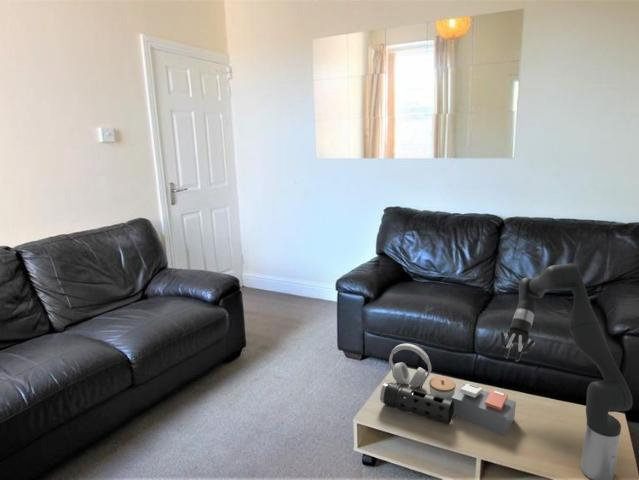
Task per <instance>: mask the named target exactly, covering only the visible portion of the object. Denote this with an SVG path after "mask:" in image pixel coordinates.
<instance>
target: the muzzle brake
mask: <svg viewBox="0 0 639 480" xmlns="http://www.w3.org/2000/svg"><path fill="white" fill-rule="evenodd" d="M379 395H380V396H379V397H380V398H379V400H380V402H381V403H383V405H385V406H386V407H389V408H392V409H397V410H399V411H400V412H401V411H402V412H407V413H410V414H413V415H416V416H419V417H422V418H426V419H429V420H431V421H435V422H438V423H441V424H444V425H450V424H451V422H452V420H453V417H454V416H453V411H454V402H453V401H452V399H451V400H448V399H444V398H441V397H437V396H434V395H431V393H426V392H423V391H419V390H416V389H412V388H409V387H406V386H401V384H399V383H396V382H395V383H394V382H385V383H384V384H382V387H381V389H380V394H379Z"/></svg>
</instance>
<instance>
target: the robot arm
mask: <svg viewBox="0 0 639 480" xmlns="http://www.w3.org/2000/svg"><path fill="white" fill-rule="evenodd" d="M551 290H552V291H563V290H571V291H572V295H573V305H572V309H571V312H570V315H569V318H568V322H567V323H568V330H569V332H570V335H571V338H572V341H573V342H574V344H575V346H576V347H577V348H578V350H579V351H580V352H581V353H583V355H584V356H586V358H588V359H589V360H590V361H591V362H592V363H593V364H594V365H595V366H596V368H597V369H598V370H599V372H600V373H601V376H602V378H603V380H601V381H600V380H599V381H597V380H596V381H591V382H590V383H589V384H588V385H587V386H588V387H587V390H586V402H585V403H586V404H585V416H586V423H585V425H586V426H585V431H584V438H583V439H584V440H583V446H582V452H581V461H580V470H581V472H582V473H583V475H585V476H586V477H587V478H589V479H590V480H614V476H615V471H616V465H617V458H618V453H619V452H618V451H619V444H620V438H621V430H622V425H621V422H620V421H619V420H618V419H617V418H616V417H614V416H613V415H611V414H609V413H614V412H616V413H617V412H627V411H629V410H631V409H632V407H633V403H634V402H633V401H634V400H633V396H632V393H631V390H630V388H629V385H628V384H627V382H626V380H625V378H624V376H623V374H622V373H621V371H620V369H619V367H618V365H617V364H616V363H617V362H616V361H615V359H614V356H613V355H612V352H611V350H610V348H609V345H608V342H607V341H606V337H605V334H604V331H603V329H602V328H601V325H600V322H599V320H598V318H597V316H596V314H595V311H594V309H593V307H592V304H591V301H590V299H589V296H588V292H587V289H586V286H585V283H584V280H583V276H582V274H581V272H580V269H579V267H578V265H576V264H574V263H562V264H556V265H554V264H553V265H550V266H548V267H546V268H545V269H543V271H542V272H541V274H540V275H537V276H536V277H534V278H531V277H523V278H521V280H520V281H519V285H518V303H517V307H516V309H515V312H514V314H513V318H512V320H511V325H510V327H509V330H508V331H507V332H503V331H502V332H500V337H501V339H500V340H501V345H502V348H504V353H503V356H504V358H505V359H507V360H508V359H509V357H510V352H511V348H512V347H513V346H514V345H517V346H518V347H517V348H518V350H517V352H516V355H515V358H514V359H515V360H514V361H515V362H516V363H517V362H519V361H520V360H521V358H522V355H523V354H528V353H529V352H530V351H531V350H532V348H533V347H535V345H536V343H535V340H534V339H531V338H530V333H531V328H532V326H533V324H534V323H533V322H534V319H535V318H534V317H535V313H536V309H537V302H536V301H535V300H534V299H532V298H531V297H533V298H535V299H541V298H543V297H544V295H545V293H548V292H550V291H551ZM507 337H508V339H509V340H508V342H507V343H506V339H507ZM525 343H527V344H526V346H525V347H524V344H525Z"/></svg>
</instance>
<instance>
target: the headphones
mask: <svg viewBox="0 0 639 480" xmlns="http://www.w3.org/2000/svg"><path fill="white" fill-rule="evenodd" d="M402 350H408V351H412V352H414V353H416V354H417V355H419V357H420V358H421V359H422V360H423V361H424V362H425V363H426V365H427V369H428V371H427V374H426V369H424V368H422V367H420V366H419V367H418V368H417V370H416V371H415V373H414V374H413V376H412V378H411V380H410V371H409V369H408V366H407V364H406V363H405V362H401V361H400V362H397V363H395V364H394V362H393V357H394V355H395V354H397V353H398V352H399V351H402ZM388 363H389V367H390V369H391V372H392V377H393V379H394V380H395V382H396V384H398V385H400V386H401V385H407V384H409V386H411V387H412V388H414V389H415V388H419V390H421V389H422V387H423V386H424V385H425V382H426V381H427V379H428V378H429V376H430V374H431V372H432V363H431V360H430V357H429V355H428V354H427V353H426V351H424V349H422V348H421V347H420V346H418V345H415V344H412V343H407V342H406V343H401V344H398V345H396V346H395V347H394V348H392V350H391V352H390V354H389V359H388Z"/></svg>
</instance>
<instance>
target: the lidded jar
mask: <svg viewBox="0 0 639 480" xmlns="http://www.w3.org/2000/svg"><path fill="white" fill-rule="evenodd" d="M428 383H429V392H430V393H429V394H430V395H434V396H437V397H441V398H444V399H448V400H451V401H452V396H453V395H454V394H455V393H456V385H457V384H456V382H455V381H454V380H453V379H452V378H450V377H448V376H444V375H441V376H440V375H438V376H433V377H432V378H430V380H429V382H428Z"/></svg>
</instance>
